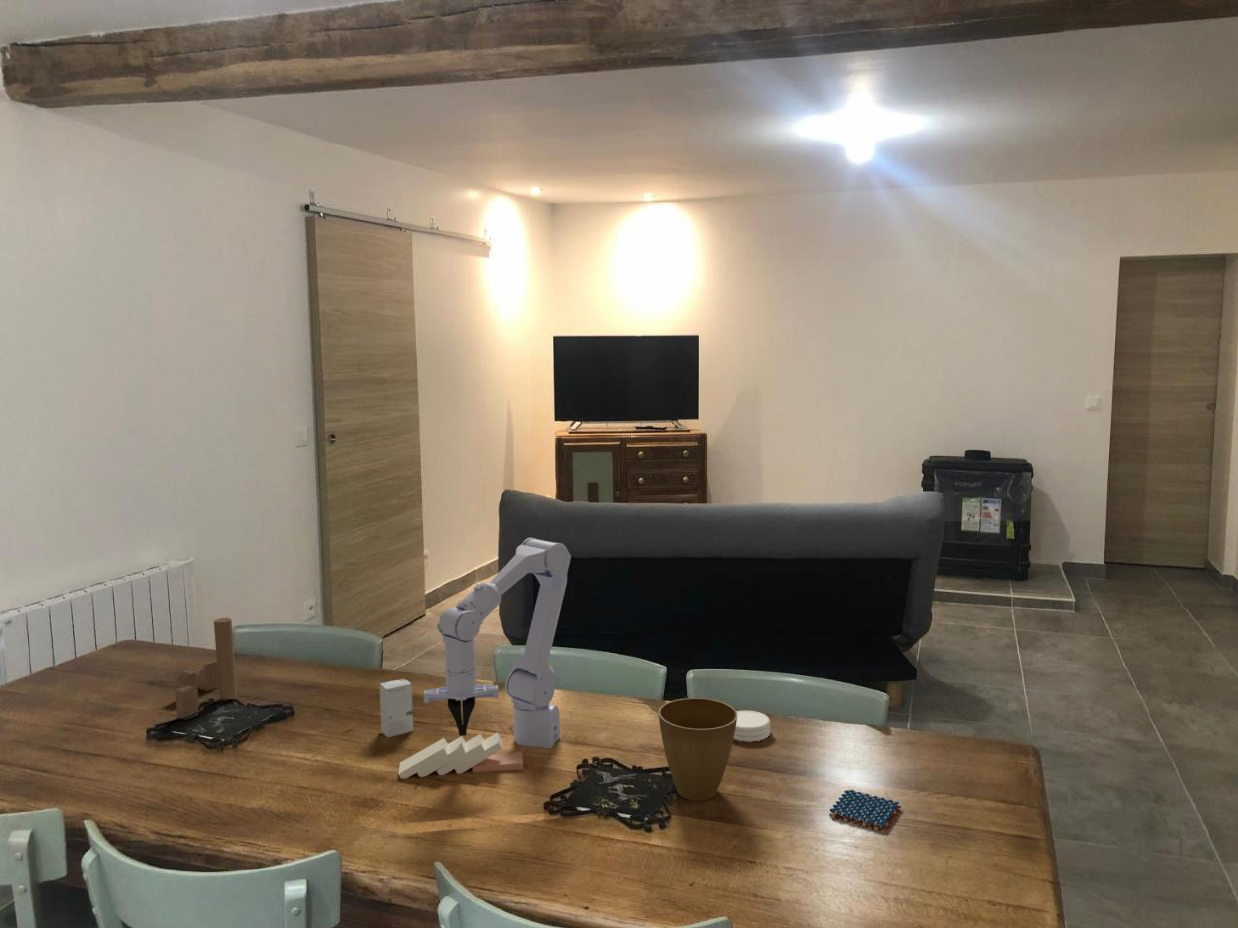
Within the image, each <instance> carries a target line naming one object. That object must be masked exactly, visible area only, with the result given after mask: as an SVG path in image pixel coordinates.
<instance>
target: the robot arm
mask: <svg viewBox="0 0 1238 928" xmlns="http://www.w3.org/2000/svg"><path fill="white" fill-rule="evenodd" d="M571 558H572V555H571V554H570V552H569V550H568V548H567V547H566V545H565V544H564V543H562V542H552V541H547V540H543V539H538V538H535V537H528V538H526V539H524V541H523V542H522V543H521V544H520V545H519V546H517V547H516V548H515V555H514V556H513V557H512V558H511V559H510V560H509V561H508V563H506V565H505V566H504V567H502V568H501V570H500V571H499V572H498V573H497V574H496V575H495V576H494V577H493V578H492V579H491V581H490V582H480V584H478V583H477V584H476V585H475V586H474V587H473V590H472V591H471V592H469V594H468V595H466V596H465V598H464V599H462V600H460V601H458V603H457V605H455V606H453V607H448V608H447V609H446V610H444V611H443V612H442V614H441V615H440V617H439V619H438V623H437V624H436V627H437V630H438V632H439V633H440V634H441V636H442V642H443V643H444V657H445V684H446V685H445V686H444V687H438V688H434V689H433V688H432V689H425V690H424V691H423V703H424V704H429V703H430V702H440V701H441V702H443V701H447V708H448V710H449V713H451V715H452V717H453V719H454V722H455V723H456V728H457V730H458V736H459V737H461V736H462V737H463V736H467V731H468V724H469V721H470V718H471V715H472V713H473V711H474V708H475V706H476V699H484V698H493V699H499V684H498V685H497V684H496V685H489V684H486V685H485V684H476V663H475V662H476V661H475V660H476V659H475V657H476V656H475V638H476V636H478V634H479V632H480V629H481V626H482V624H483V622H484V620H485V619H486V618H487V617H488V616H489V615H490V614H491V613H492V612H493V611H494V610H496V609H497V607H498V606H500V605H501V603H502V595H504V593H506V592H507V591H508V590H509V589H511V587H512V586H514V585H515V584H517V583H518V581H520V580H521V579H522V578H524V577H525V576H526V575H527V574H533V575H534V576H535V578H536V580H537V582H538V583H539V588H538V593H537V598H536V602H535V606H534V609H533V610H534V611H533V614H532V619H531V622H530V623H531V624H530V627H529V632H528V635H527V639H526V643H525V646H524V647H525V648H524V650H523V651H524V653H523V656H521V657H520V658H519V659H517V660H515V661H514V662H513V665H512V668H511V671H510V673H509V674H508V675H507V677H506V680H505V683H504V688H505V693H506V694H507V695H508V696H509V697H510V701H511V703H512V704H513V705H512V706H513V730H514V731H513V733H514V735H513V736H514V738H513V739H514V742H515V743H516V745H520V746H523V747H530V748H531V747H533V748H534V747H535V748H536V747H537V748H546V749H552V747H554V745H555V744H556V742H558V740H559V739H560V738H561V729H560V728H561V725H560V710H559V707H558V705H554V704H551V703H550V702H551V701H552V700H553V697H554V694H555V688H556V687H555V676H556V672H555V670H554V669H553V667H552V666H551V664H550V662H549V660H550V655H551V651H552V647H553V643H554V638H555V635H556V631H557V625H558V621H559V618H560V613H561V609H562V605H563V602H564V601H563V600H564V596H565V592H566V587H567V584H568V572H569V567H570V563H571V560H572V559H571Z"/></svg>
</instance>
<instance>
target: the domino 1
mask: <svg viewBox="0 0 1238 928" xmlns="http://www.w3.org/2000/svg"><path fill="white" fill-rule="evenodd" d="M448 744H449V743H448V742H447V739H445V737H443V738H441V739H439V740H437V741H435V742H434V743H432V744H431V745H428V746H427V747H425V748H423V749H421V750H420V751H418V752H417V753H414V754H413V755H411V756H410V757H408V758H406V759H404V760H402V761H401V762H399V767H398V768H399V769H398V776H399V777H400V779H408V778H409V777H411V776H413V775H415V774H418V773H417V772H418V771H420V770H422V769H424V768H425V767H427V766H429V765H431V764H432V763H434V762H436V761H438V760H439V759H441V758H443V757H445V756H446V755H448Z"/></svg>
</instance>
